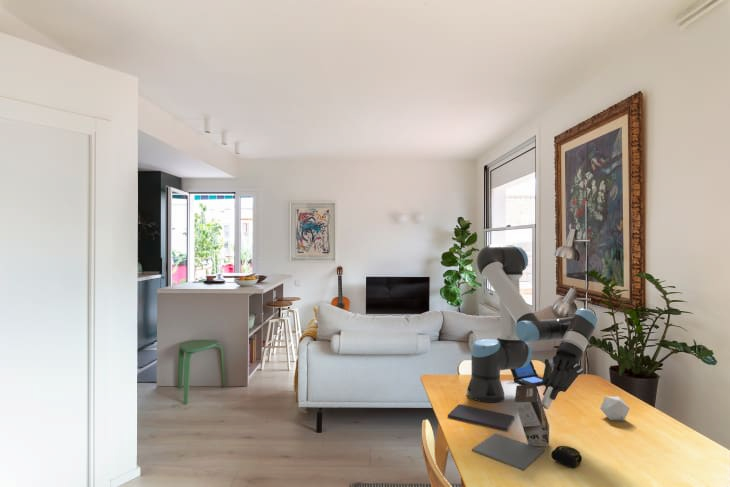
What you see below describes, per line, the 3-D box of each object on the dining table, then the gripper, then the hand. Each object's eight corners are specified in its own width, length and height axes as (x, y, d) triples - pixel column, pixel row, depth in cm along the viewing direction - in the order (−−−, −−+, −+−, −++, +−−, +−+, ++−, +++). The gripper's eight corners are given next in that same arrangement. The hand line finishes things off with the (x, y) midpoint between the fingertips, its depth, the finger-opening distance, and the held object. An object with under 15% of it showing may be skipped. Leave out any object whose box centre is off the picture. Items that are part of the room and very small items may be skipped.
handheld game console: (528, 388, 183) (528, 367, 183) (506, 379, 195) (506, 360, 195) (552, 383, 189) (552, 363, 190) (529, 375, 201) (529, 357, 202)
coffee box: (550, 446, 123) (535, 401, 121) (528, 446, 127) (513, 402, 124) (550, 425, 131) (536, 383, 129) (529, 426, 134) (516, 384, 132)
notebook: (447, 418, 148) (507, 433, 137) (447, 414, 148) (507, 428, 137) (458, 407, 159) (515, 420, 148) (458, 403, 159) (515, 415, 148)
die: (628, 427, 142) (637, 402, 146) (605, 413, 144) (614, 389, 147) (615, 426, 150) (623, 403, 153) (593, 413, 152) (601, 390, 155)
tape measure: (550, 461, 117) (550, 448, 117) (562, 455, 121) (562, 442, 121) (573, 472, 112) (573, 458, 112) (585, 465, 116) (585, 452, 116)
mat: (471, 450, 123) (471, 448, 123) (495, 434, 134) (495, 433, 134) (523, 470, 112) (523, 468, 112) (544, 451, 123) (544, 449, 123)
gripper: (595, 358, 134) (568, 419, 123) (559, 352, 145) (532, 408, 134) (585, 343, 131) (557, 404, 121) (549, 338, 142) (521, 394, 132)
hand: (544, 406), depth 128 cm, fingers closed
